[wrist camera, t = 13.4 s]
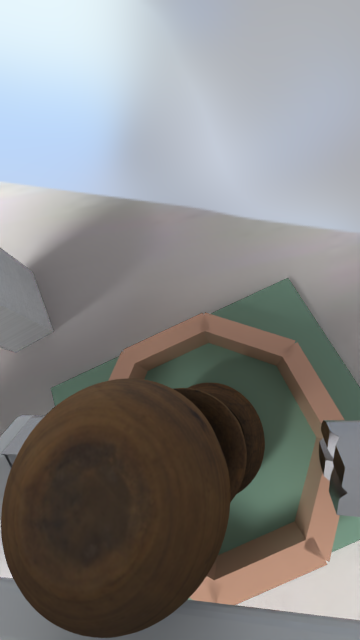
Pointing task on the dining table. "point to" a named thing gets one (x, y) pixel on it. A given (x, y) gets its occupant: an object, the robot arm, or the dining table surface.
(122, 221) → the dining table surface
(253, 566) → the pink octagonal ring
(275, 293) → the green mat
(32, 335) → the tea bag
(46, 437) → the brown wooden chess piece
